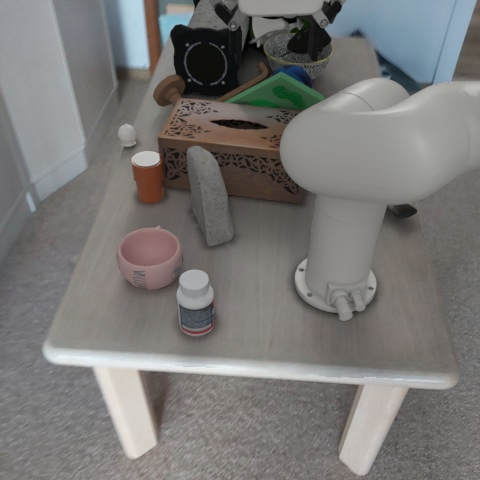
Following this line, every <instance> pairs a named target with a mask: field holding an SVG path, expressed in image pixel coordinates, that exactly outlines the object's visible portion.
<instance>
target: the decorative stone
mask: <svg viewBox="0 0 480 480" xmlns="http://www.w3.org/2000/svg"><path fill="white" fill-rule="evenodd" d="M187 167H188V175H189V180H190V187H191V190H190V194H191V198H190V199H191V210H192V213H193V215H194V216H195V218H196V219H197V222H198V224H199V226H200V228H201V231H202V232H203V235H204V239H205V242H206V245H207V246H208V247H215V246H219V245H221V244H225V243H228V242H230V241H232V240H233V238H234V235H235V229H234V228H235V227H234V226H233V223H232V218H231V217H232V216H231V213H230V211H229V195H227V191H226V187H225V184H224V180H223V177H222V174H221V171H220V169H219V165H218V163H217V160H216V159H215V158H214V157H213V155H212V154H211V153H210V152H208V151H207V150H205V149H204V148H202V147H200V146H192V147H190V148H189V149H188V150H187Z"/></svg>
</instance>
